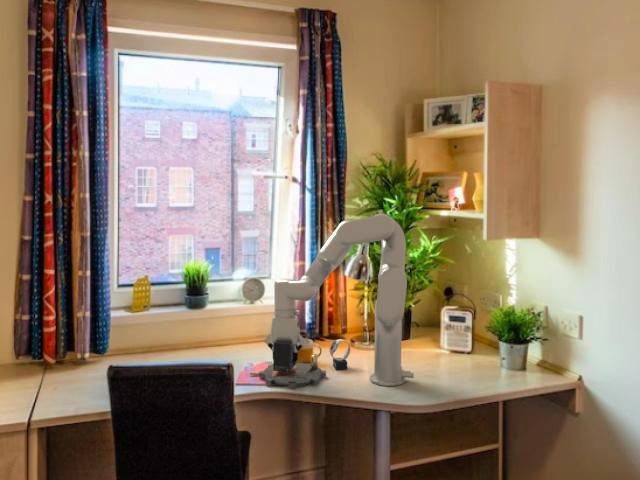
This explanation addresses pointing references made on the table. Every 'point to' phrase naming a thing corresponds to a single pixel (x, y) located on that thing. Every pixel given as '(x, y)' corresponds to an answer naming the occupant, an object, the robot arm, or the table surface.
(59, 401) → the table surface
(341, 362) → the watch
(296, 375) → the sprocket
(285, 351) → the small box
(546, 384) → the table surface
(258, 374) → the stand
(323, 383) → the table surface
